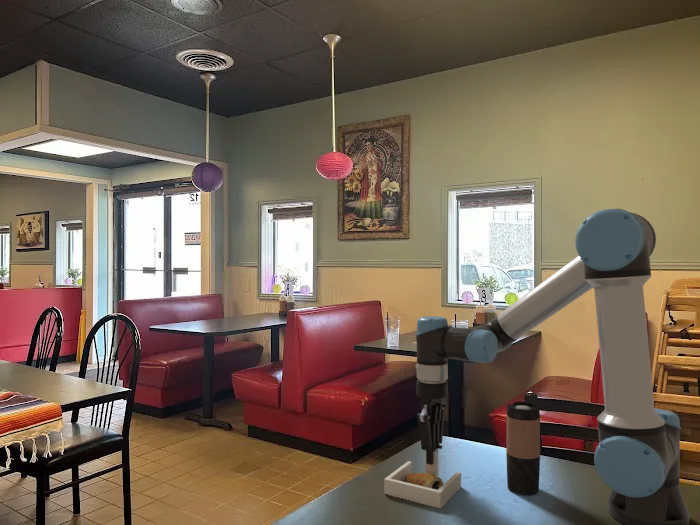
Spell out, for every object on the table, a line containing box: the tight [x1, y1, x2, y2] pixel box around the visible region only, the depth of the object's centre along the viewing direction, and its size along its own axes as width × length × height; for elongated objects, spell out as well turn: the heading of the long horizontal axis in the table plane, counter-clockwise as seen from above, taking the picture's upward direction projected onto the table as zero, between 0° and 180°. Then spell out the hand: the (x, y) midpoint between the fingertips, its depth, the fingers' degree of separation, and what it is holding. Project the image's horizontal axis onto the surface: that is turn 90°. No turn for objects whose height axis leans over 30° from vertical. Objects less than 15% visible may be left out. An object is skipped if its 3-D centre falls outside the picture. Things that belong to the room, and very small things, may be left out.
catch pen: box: [383, 460, 462, 509], centre depth 128 cm, size 14×13×4 cm
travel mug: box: [505, 401, 541, 497], centre depth 128 cm, size 8×8×20 cm
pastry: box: [405, 472, 444, 490], centre depth 130 cm, size 9×7×4 cm
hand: (431, 475), depth 133 cm, fingers closed
